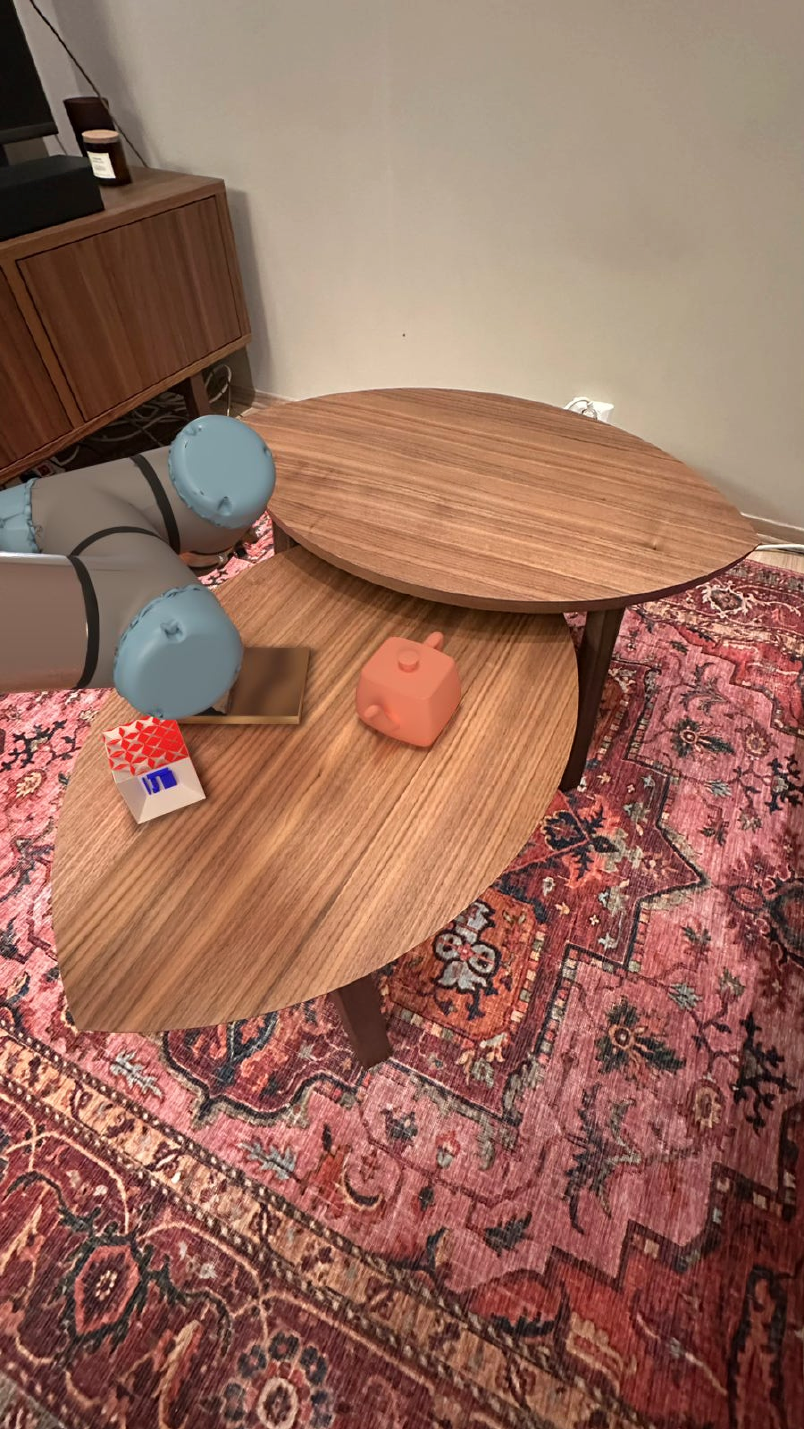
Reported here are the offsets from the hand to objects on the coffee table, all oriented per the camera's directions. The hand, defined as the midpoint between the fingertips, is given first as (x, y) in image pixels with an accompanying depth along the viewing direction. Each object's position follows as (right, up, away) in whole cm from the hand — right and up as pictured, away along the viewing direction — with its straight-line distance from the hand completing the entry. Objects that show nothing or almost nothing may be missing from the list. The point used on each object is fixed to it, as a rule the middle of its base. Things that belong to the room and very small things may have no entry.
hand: (163, 582), depth 80 cm
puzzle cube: (0, -24, +1) cm, 24 cm away
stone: (+2, -11, +10) cm, 15 cm away
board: (+6, -12, +11) cm, 17 cm away
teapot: (+29, -16, +7) cm, 34 cm away
